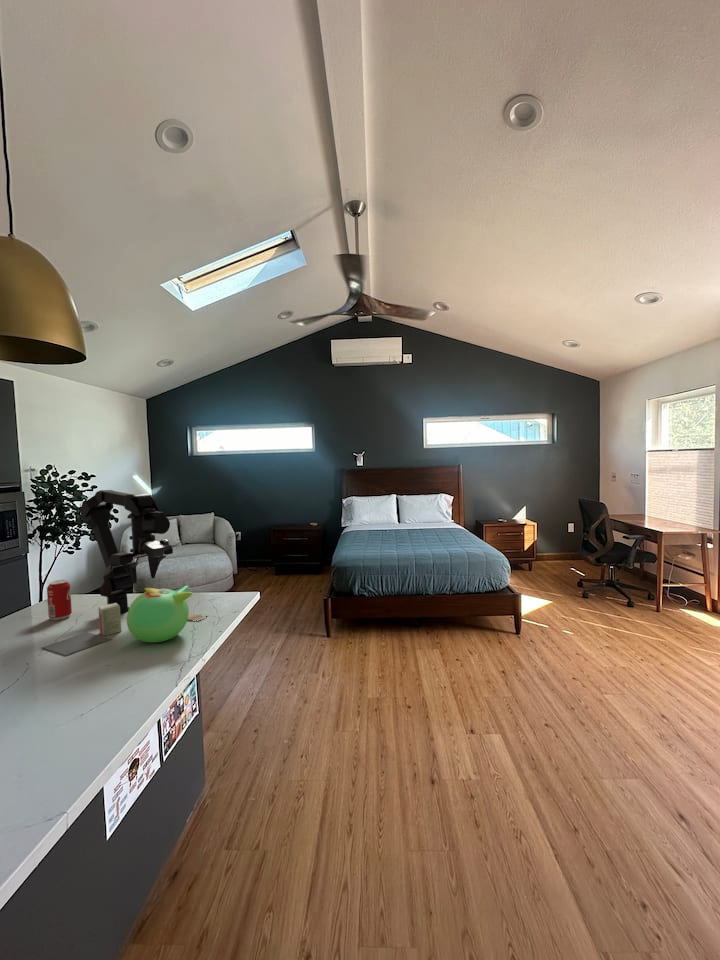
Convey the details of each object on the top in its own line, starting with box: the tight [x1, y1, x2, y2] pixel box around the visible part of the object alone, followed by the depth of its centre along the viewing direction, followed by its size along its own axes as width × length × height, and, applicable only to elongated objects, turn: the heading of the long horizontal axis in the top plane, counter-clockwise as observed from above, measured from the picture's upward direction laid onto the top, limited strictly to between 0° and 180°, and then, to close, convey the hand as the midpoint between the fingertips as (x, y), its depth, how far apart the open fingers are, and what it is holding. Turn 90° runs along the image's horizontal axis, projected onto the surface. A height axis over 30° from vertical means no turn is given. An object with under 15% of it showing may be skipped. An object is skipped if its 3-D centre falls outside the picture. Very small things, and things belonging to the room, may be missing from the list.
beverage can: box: [46, 579, 73, 621], centre depth 145 cm, size 6×6×12 cm
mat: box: [41, 631, 112, 657], centre depth 122 cm, size 12×12×1 cm
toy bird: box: [126, 585, 193, 644], centre depth 124 cm, size 18×17×15 cm
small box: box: [98, 603, 122, 637], centre depth 131 cm, size 5×4×8 cm
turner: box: [188, 613, 203, 622], centre depth 141 cm, size 14×5×1 cm, turn 76°
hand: (144, 580), depth 143 cm, fingers open, 6 cm apart
